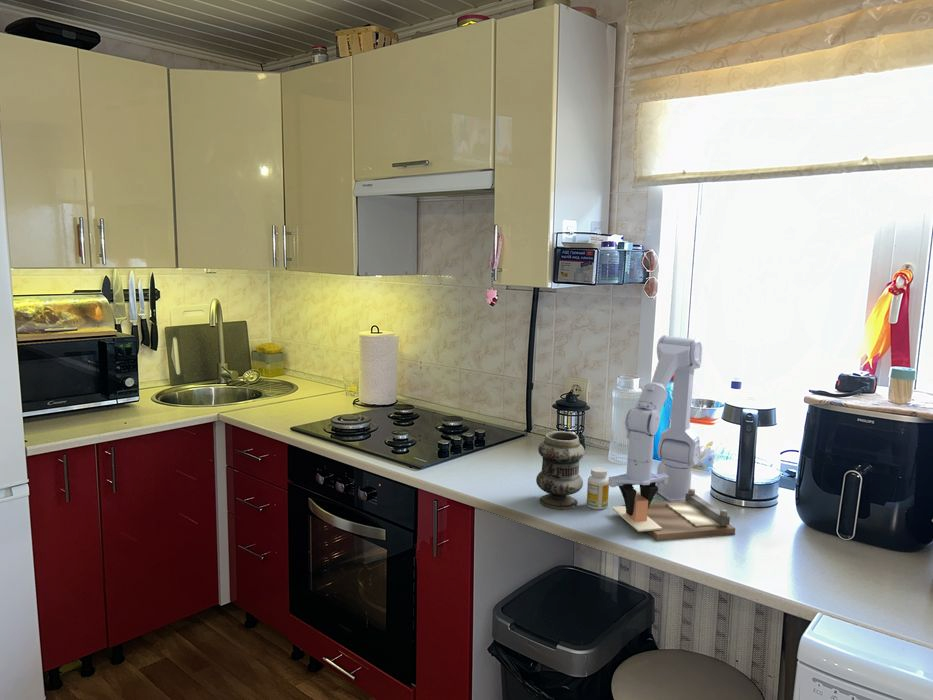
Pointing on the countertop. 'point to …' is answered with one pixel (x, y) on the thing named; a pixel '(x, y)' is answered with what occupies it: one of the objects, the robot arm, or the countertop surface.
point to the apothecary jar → (560, 469)
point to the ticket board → (688, 519)
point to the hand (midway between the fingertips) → (636, 513)
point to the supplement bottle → (598, 489)
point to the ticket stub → (638, 515)
